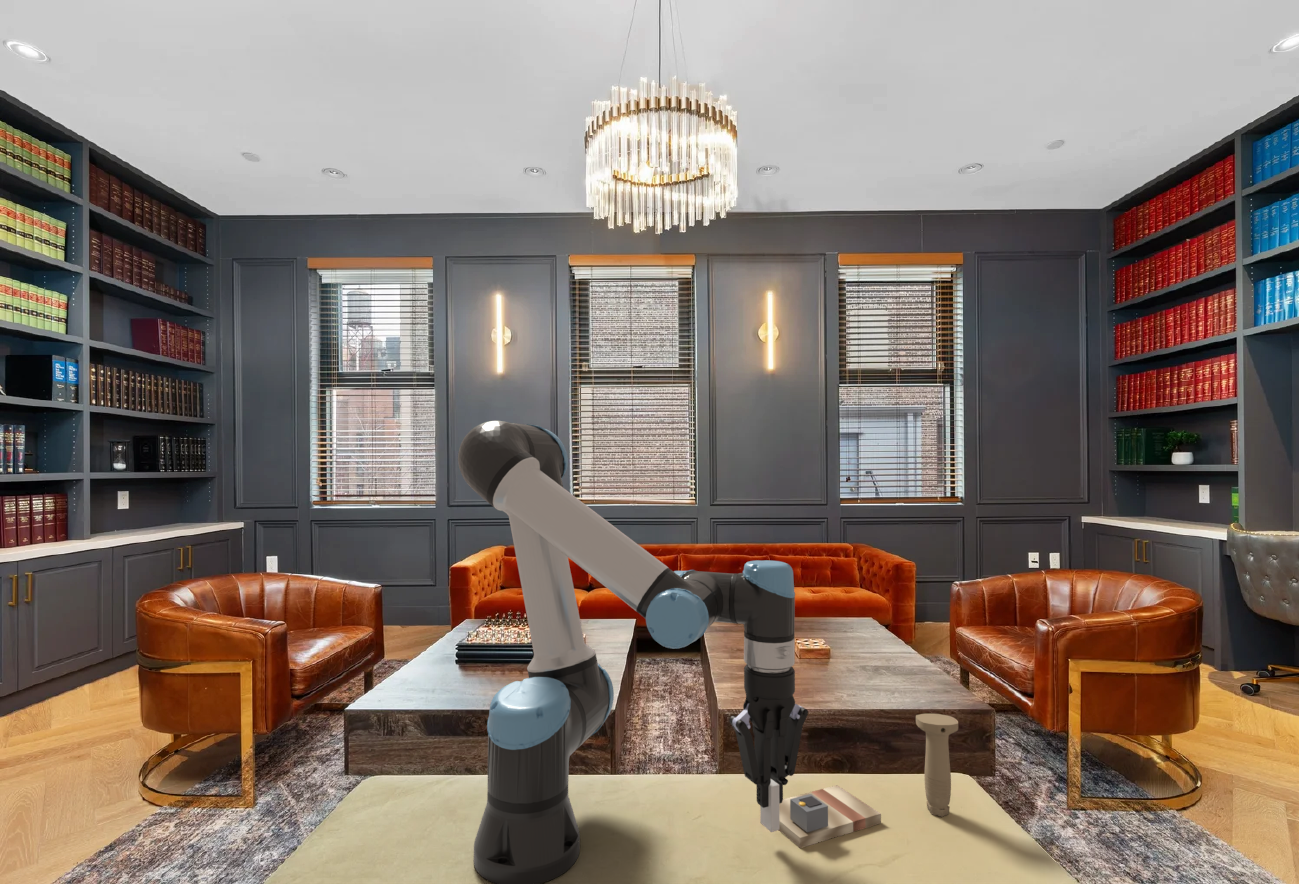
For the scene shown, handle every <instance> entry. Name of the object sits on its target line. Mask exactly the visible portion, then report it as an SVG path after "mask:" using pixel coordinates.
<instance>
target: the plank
mask: <svg viewBox="0 0 1299 884" xmlns="http://www.w3.org/2000/svg"><path fill="white" fill-rule="evenodd" d="M808 794H812V795H813V796H815V797H816V798H817V799H819V800H820V801H822V802H823V803H824V804H826V805H827V806H828V826H827V827H824V828H820V829H817V830H814V831H810V832H806V831H805V830H803V829H802V828H801V827H800V826H798V825H797V824H796V823H795V822H793V821H792V820H791V819H790V799H793V798H797V797H801V796H804V795H808ZM881 823H882V813H881V812H879V811H878V810H877V809H874V807H872V806H870V805H868V803H866V802H864V801H862V800H861V799H859V798H858V797H856V796H855V795H853V794H852V793H850V792H849V791H848V790H846V789H844V788H843V787H841V786H839V785H838V784H837V785H832V786H827V787H825V788H820V789H817V790H813V791H809V792H806V793H805V792H804V793H802V794H798V795H794V796H791V797H786V798H783V801H782V803H779V826H780V830H778V832H779V831H780V832H781V834H782V835H784V836H785V837H786V838H787V839H788V840H790V841H791V842H792V843H793V844H795V845H796V846H797V847H798V848H800V849H802V848H806V847H808V846H812V845H816V844H818V842H819V843H822V842H826V841H828V840H831V838H832V839H835V838H838V837H841V836H844V834H845V835H847V834H851V833H854V832H858V831H861V830H864V829H866V828H867V829H868V828H870V827H873V826H877V825H880V824H881ZM837 836H838V837H837ZM834 837H835V838H834ZM821 841H822V842H821Z"/></svg>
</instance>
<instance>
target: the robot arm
mask: <svg viewBox="0 0 1299 884" xmlns="http://www.w3.org/2000/svg"><path fill="white" fill-rule="evenodd" d="M457 455H458V456H457V463H458V468H459V470H460V473H461V476H462V478H463V480H464V481H465V483H466V484H467V485H468V486H469V487H470V488H471V490H473V491H474V492H475V493H476V494H477V495H478V496H480V497H481V499H483V500H484V501H485V502H486V503H488V504H490V505H491V506H492V507H493V508H495V509H496V511H501V512H503V513H505V514H506V515H507V516H508V519H509V525H510V526H509V527H510V530H511V535H512V541H513V547H514V553H515V558H516V559H515V560H516V563H517V569H518V575H519V580H520V585H521V591H522V596H523V602H524V607H525V612H526V617H527V624H528V630H529V634H530V635H529V636H530V639H531V640H530V641H531V645H532V651H533V657H532V659H531V661H530V662H529V663H528V665H527V667H526V668H527V675H528V677H527V678H523V680H521V681H519V680H515V681H512V682H510V683H508V684H507V685H505V686H503V687H501V688H500V689H499V690H498V691H497V692H496V693H495V694H494V696H492V699H491V702H490V704H489V713H488V717H487V725H486V730H487V794H486V795H487V796H486V797H487V800H486V805H485V808H484V811H483V815H482V817H481V820H480V824H479V826H478V829H477V832H476V835H475V839H474V841H473V842H474V844H473V866H474V868H475V870H476V872H477V873H478V874H479V875H480V876H481V877H482V878H484V879H485V880H487V881H489V882H491V883H494V884H542V883H546V882H549V881H551V880H554V879H556V878H559V876H561V875H563V874H565V873H566V872H567V871H569V870H570V869H571V868H572V866H573V865H575V863H576V862H577V860H578V858H579V855H580V845H581V841H580V839H581V837H580V836H581V833H580V830H579V826H578V823H577V820H576V817H575V812H574V809H573V806H572V803H571V800H570V797H569V775H570V774H569V769H570V768H569V767H570V766H569V764H570V762H569V761H570V756H571V755H572V754H573V753H575V752H576V750H578V749H579V748H580V747H581V746H582V745H583V744H584V743H585V742H586V741H587V740H588V739H589V738H590V737H592V736H593V735H594V734H596V733H597V732H598V731H599V730H600V729H601V727H602V726H603V724H604V723H605V722H606V720H607V719H608V717H609V715H610V714H611V711H612V708H613V705H614V698H615V696H614V695H615V692H614V685H613V682H612V679H611V676H610V675H609V673H608V671H607V670H606V669H605V668H603V667H602V666H601V664H599V663H598V659H597V652H596V650H595V649H593V648H592V647H590V646H589V645H587V644H586V642H585V638H584V633H583V628H582V623H581V618H580V613H579V607H578V603H577V598H576V594H575V587H574V582H573V577H572V573H571V568H570V562H569V559H570V560H571V561H572V562H574V563H575V564H576V565H577V566H578V567H580V568H581V570H584V571H585V572H586V573H588V574H589V575H590V576H591V577H593V579H595V580H596V581H597V582H599V583H600V584H601V585H602V586H604V587H605V588H606V589H608V590H609V591H610V592H611V593H613V594H614V595H615V596H616V597H618V599H620V600H622V601H623V602H624V603H625V604H627V605H628V607H630V608H631V609H633V610H634V611H635V612H636V613H638V614H639V615H640V616H641V617H643V618H644V619H645V624H646V628H647V630H648V632H649V634H650V635H651V638H652V639H653V640H654V641H655V642H657V643H658V644H659V645H661V646H662V647H665V648H667V649H673V650H674V649H682V648H685V647H687V646H689V645H690V644H692V643H694V642H697V640H698V639H700V638H702V636H704V634H706V631H707V629H708V628H709V627H711V626H712V625H713V624H714V623H724V624H734V625H735V624H736V625H738V624H742V625H743V628H744V629H743V661H744V663H745V666H744V668H743V681H744V682H743V688H744V692H745V700H744V703H743V705H742V707H743V710H742V711H741V712H740V713H739V714H738V715H737V716H735V715H731V716H730V717H729V723H730V725H731V726H732V729H734V732H735V735H736V736H735V737H736V740H737V741H736V742H737V745H738V750H739V755H740V759H741V764H742V769H743V774H744V777H745V778H746V779H748V780H749V781H750V782H752V783H753V784H754V785H756V802H757V805H758V806H760V810H759V811H760V815H759V816H760V824H761V825H763V827H765V828H766V829H767V830H768V831H769V832H771V833H773V832H776V831H779V830H780V826H779V803H782V801H783V799H784V786H786V785H787V784H788V783H789V779H788V778H787V777H788V776H789V777H792V776H794V775H795V772H796V768H797V767H796V766H797V761H798V754H799V749H800V745H801V743H800V742H801V738H802V732H803V726H804V724H805V722H806V719H807V718H808V715H809V710H808V709H806V708H805V707H803V706H801V705H800V704H797V703H796V699H795V697H794V694H795V692H796V671H795V668H794V667H793V666H794V665H795V664H796V663H795V662H796V661H795V659H796V658H795V652H796V651H795V648H796V647H795V643H796V642H795V638H796V637H795V624H796V623H795V621H796V620H795V619H796V618H795V617H796V616H795V615H796V614H795V613H796V612H795V611H796V610H795V609H796V608H795V606H796V591H795V585H794V584H795V583H794V570H793V568H792V566H791V565H790V564H789V563H786V562H784V561H780V560H772V559H771V560H767V559H766V560H759V559H758V560H757V559H756V560H750V561H747V562H746V563H744V566H743V570H742V572H739V573H727V572H713V571H700V570H699V571H698V570H695V569H689V570H674V571H673V570H672V569H671V568H670V567H668V566H667V565H666V564H665V563H664V562H662V561H660V560H659V559H658V558H656V557H655V556H654V555H652V554H651V553H650V552H649V551H647V549H645V548H643V547H642V546H641V545H640V544H638V543H637V542H636V541H634V540H633V539H632V538H630V537H629V536H628V535H626V534H625V533H623V532H622V531H621V530H619V529H618V528H617V527H616V526H614V525H613V524H612V523H610V522H609V521H608V520H606V519H605V518H604V517H602V516H601V515H600V514H599V513H597V512H596V511H595V510H594V509H592V508H590V507H589V506H588V505H587V504H586V503H584V502H582V501H581V500H580V499H579V498H577V497H576V496H575V495H574V494H572V493H571V492H569V491H568V490H567V489H566V488H564V485H563V479H564V476H565V474H566V473H567V471H568V465H569V459H568V457H569V456H568V452H567V450H566V447H565V445H564V443H563V442H562V440H561V439H560V438H559V436H558V435H556V434H555V433H554V432H552V431H551V430H549V429H546V428H544V427H542V426H540V425H535V424H531V423H530V424H529V423H527V424H524V423H523V424H522V423H517V422H516V423H514V422H508V421H504V420H502V421H501V420H490V421H484V422H483V423H480V424H478V425H476V426H474V427H473V428H472V429H471V430H470V431H468V433H467V434H466V435H465V436H464V438H463V439H462V441H461V443H460V446H459V450H458V454H457ZM750 722H751V723H752V733H753V735H754V741H753V737H752V733H751V731H750V729H751V724H750Z"/></svg>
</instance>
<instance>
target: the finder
mask: <svg viewBox="0 0 1299 884" xmlns="http://www.w3.org/2000/svg"><path fill="white" fill-rule="evenodd" d="M790 819H791V820H792V821H793V822H795V823H796V824H797V825H798V826H800V827H801V828H802V829H803V830H805V831H806V832H810V831H814V830H817V829H820V828H824V827H827V826H828V806H827V805H826V804H824V803H823V802H822V801H820V800H819V799H817V798H816V797H815V796H813V795H812V794H808V795H804V796H801V797H797V798H793V799H790Z"/></svg>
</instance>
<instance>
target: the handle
mask: <svg viewBox="0 0 1299 884" xmlns="http://www.w3.org/2000/svg"><path fill="white" fill-rule="evenodd" d="M915 724H916V726H917V727H918V728H919V729H920V730H921V731H923V732H925V758H924V759H925V760H924V774H923V775H924V792H925V796H926V809H927V810H928V811H929V813H930V814H932V815H935V816H939V817H945V816H947V815H949V814H950V808H951V807H950V806H949V805H950V802H951V795H952V793H951V792H952V776H951V765H950V763H951V762H950V750H949V749H950V748H949V736H950V735H951V734H954V733H956V732H957V731H959V721H958V720H957V719H956V718H955V717H953V716H951V715H947V714H946V715H945V714H940V713H921V714H916V715H915Z"/></svg>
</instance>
